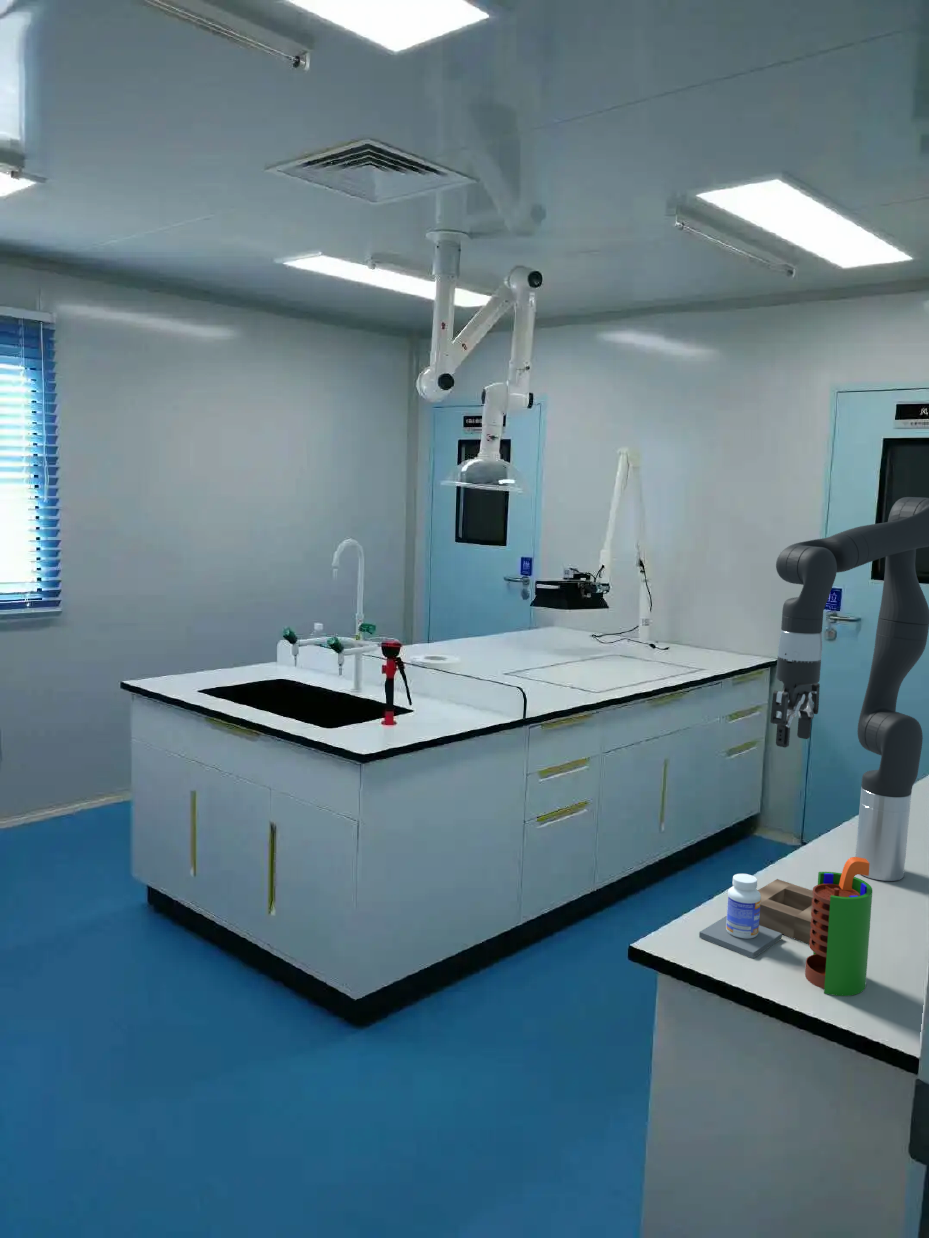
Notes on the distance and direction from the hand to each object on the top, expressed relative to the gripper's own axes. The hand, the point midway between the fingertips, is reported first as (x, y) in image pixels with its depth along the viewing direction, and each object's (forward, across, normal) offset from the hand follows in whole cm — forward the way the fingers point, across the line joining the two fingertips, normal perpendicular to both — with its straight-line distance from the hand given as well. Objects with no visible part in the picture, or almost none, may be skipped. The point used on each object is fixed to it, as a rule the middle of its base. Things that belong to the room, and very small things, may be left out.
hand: (792, 742), depth 177 cm
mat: (+30, +21, +3) cm, 37 cm away
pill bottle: (+29, +21, +3) cm, 36 cm away
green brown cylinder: (+30, +22, +20) cm, 43 cm away
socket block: (+30, +8, +6) cm, 32 cm away
